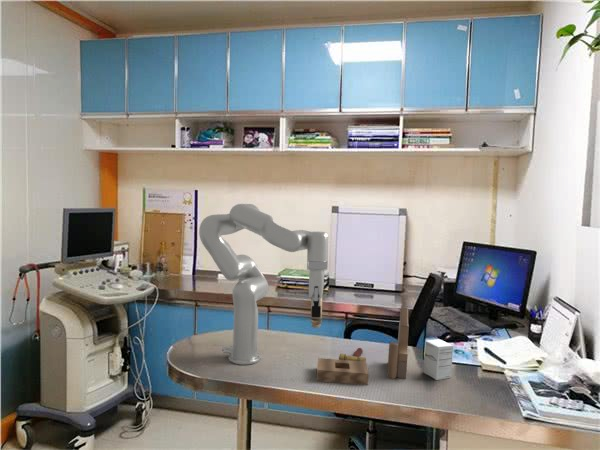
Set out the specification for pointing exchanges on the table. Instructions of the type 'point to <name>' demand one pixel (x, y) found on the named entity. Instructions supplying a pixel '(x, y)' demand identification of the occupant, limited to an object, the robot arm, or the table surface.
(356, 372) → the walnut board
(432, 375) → the supplement box
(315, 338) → the table surface
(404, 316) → the wooden toy
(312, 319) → the wooden pepper mill
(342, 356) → the gavel
